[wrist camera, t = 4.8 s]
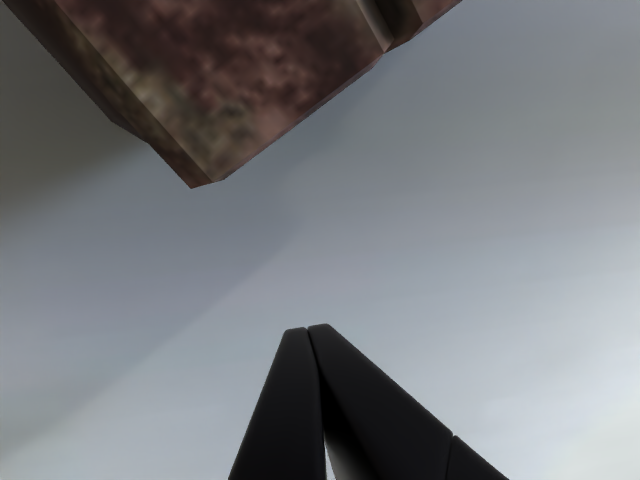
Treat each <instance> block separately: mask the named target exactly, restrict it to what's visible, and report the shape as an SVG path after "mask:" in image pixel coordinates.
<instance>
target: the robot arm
mask: <svg viewBox="0 0 640 480" xmlns="http://www.w3.org/2000/svg"><path fill="white" fill-rule="evenodd" d="M324 441H325V445H326V449H327V452H328V456H329V459H330V462H331V465H332V469H333V472H334V475H335V478H336V480H509V479H508V478H507V477H505V476H504V475H503V474H502V473H500V472H499V471H498V470H497V469H495V468H494V467H493V466H492V465H491V464H489V463H488V462H487V461H486V460H485V459H483V458H482V457H481V456H480V455H479V454H477V453H476V452H475V451H474V450H473V449H472V448H470V447H469V446H468V445H467V444H466V443H465V442H463V441H462V440H461V439H460V438H459V437H458V436H456V435H455V436H453V433H452V431H451V430H450V429H448V428H447V427H446V426H445V425H444V424H443V423H441V422H440V421H439V420H438V419H437V418H436V417H435V416H433V415H432V414H431V413H430V412H429V411H428V410H427V409H425V408H424V407H423V406H422V405H421V404H420V403H419V402H417V401H416V400H415V399H414V398H413V397H412V396H411V395H409V394H408V393H407V392H406V391H405V390H404V389H403V388H401V387H400V386H399V385H398V384H397V383H396V382H395V381H393V380H392V379H391V378H390V377H389V376H388V375H386V374H385V373H384V372H383V371H382V370H381V369H380V368H378V367H377V366H376V365H375V364H374V363H373V362H372V361H370V360H369V359H368V358H367V357H366V356H365V355H364V354H362V353H361V352H360V351H359V350H358V349H357V348H356V347H354V346H353V345H352V344H351V343H350V342H349V341H348V340H346V339H345V338H344V337H343V336H342V335H341V334H339V333H338V332H337V331H336V330H335V329H334V328H333V327H331V326H330V325H329V324H319V325H313V326H309V327H308V329H306V328H304V327H301V328H294V329H288V330H286V331H285V332H284V334H283V337H282V339H281V342H280V345H279V347H278V350H277V352H276V355H275V358H274V360H273V363H272V365H271V368H270V371H269V373H268V376H267V378H266V381H265V384H264V386H263V389H262V391H261V394H260V397H259V399H258V402H257V404H256V407H255V410H254V412H253V415H252V417H251V420H250V423H249V425H248V428H247V430H246V433H245V436H244V438H243V441H242V443H241V446H240V449H239V451H238V454H237V456H236V459H235V462H234V464H233V467H232V469H231V472H230V475H229V477H228V480H327V474H326V458H325V445H324Z"/></svg>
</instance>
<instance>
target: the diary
mask: <svg viewBox="0 0 640 480" xmlns="http://www.w3.org/2000/svg"><path fill="white" fill-rule="evenodd" d="M2 1H3V2H4V3H5V4H6V6H7V7H8V8H9V9H10V10H11V11H12V12H13V13H14V14H15V15H16V17H17V18H18V19H19V20H20V21H21V22H22V23H23V24H24V25H25V26H26V28H27V29H28V30H29V31H30V32H31V33H32V34H33V35H34V36H35V37H36V39H37V40H38V41H39V42H40V43H41V44H42V45H43V46H44V47H45V49H46V50H47V51H48V52H49V53H50V54H51V55H52V56H53V57H54V58H55V60H56V61H57V62H58V63H59V64H60V65H61V66H62V67H63V68H64V69H65V71H66V72H67V73H68V74H69V75H70V76H71V77H72V78H73V79H74V80H75V82H76V83H77V84H78V85H79V86H80V87H81V88H82V89H83V90H84V91H85V93H86V94H87V95H88V96H89V97H90V98H91V99H92V100H93V101H94V102H95V104H96V105H97V106H98V107H99V108H100V109H101V110H102V111H103V112H104V114H105V115H106V116H107V117H108V118H109V119H110V120H111V121H112V122H114V123H115V124H117V125H119V126H120V127H122V128H124V129H125V130H127V131H129V132H130V133H132V134H133V135H135V136H137V137H138V138H140V139H142V140H143V141H145V142H147V143H148V144H150V146H151V147H152V148H153V149H154V150H155V151H156V152H157V153H158V154H159V155H160V156H161V157H162V158H163V160H164V161H165V162H166V163H167V164H168V165H169V166H170V167H171V168H172V169H173V170H174V171H175V172H176V173H177V175H178V176H179V177H180V178H181V179H182V180H183V181H184V182H185V183H186V184H187V185H188V186H189V187H190V188H191V189H192V188H196V187H199V186H203V185H206V184H210V183H214V182H217V181H221V180H224V179H225V178H227V177H228V176H229V175H231V174H232V173H233V172H235V171H236V170H237V169H239V168H240V167H241V166H243V165H244V164H245V163H247V162H248V161H249V160H251V159H252V158H253V157H255V156H256V155H257V154H259V153H260V152H261V151H263V150H264V149H265V148H267V147H268V146H269V145H271V144H272V143H273V142H275V141H276V140H277V139H279V138H280V137H281V136H283V135H284V134H285V133H287V132H288V131H289V130H291V129H292V128H293V127H295V126H296V125H297V124H299V123H300V122H301V121H303V120H304V119H305V118H307V117H308V116H309V115H311V114H312V113H313V112H315V111H316V110H317V109H319V108H320V107H321V106H323V105H324V104H325V103H327V102H328V101H329V100H331V99H332V98H333V97H335V96H336V95H337V94H339V93H340V92H341V91H342V90H344V89H345V88H346V87H348V86H349V85H350V84H352V83H353V82H354V81H356V80H357V79H358V78H360V77H361V76H362V75H364V74H365V73H366V72H368V71H369V70H370V69H372V68H373V67H374V65H375V64H376V63H377V61H378V60H379V59H380V58H381V56H382V55H383V54H385V53H386V52H388V51H390V50H392V49H394V48H396V47H398V46H400V45H402V44H403V43H405V42H407V41H409V40H410V39H412V38H413V37H414V36H416V35H417V34H418V33H420V32H421V31H422V30H424V29H425V28H426V27H428V26H429V25H430V24H432V23H433V22H434V21H436V20H437V19H438V18H440V17H441V16H442V15H444V14H445V13H446V12H448V11H449V10H450V9H452V8H453V7H454V6H456V5H457V4H458V3H460V2H461V1H462V0H2Z"/></svg>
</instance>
